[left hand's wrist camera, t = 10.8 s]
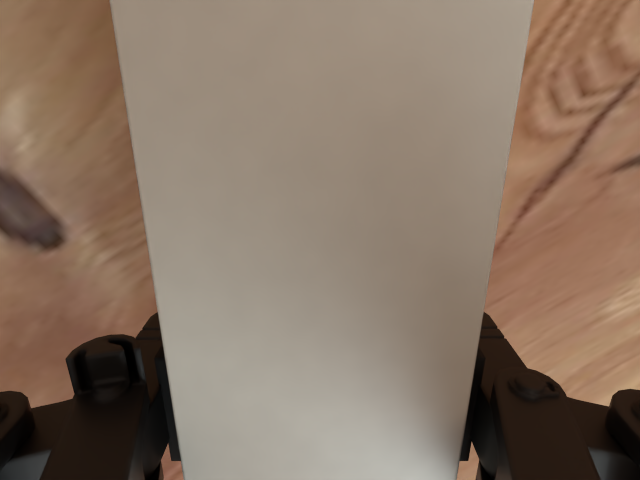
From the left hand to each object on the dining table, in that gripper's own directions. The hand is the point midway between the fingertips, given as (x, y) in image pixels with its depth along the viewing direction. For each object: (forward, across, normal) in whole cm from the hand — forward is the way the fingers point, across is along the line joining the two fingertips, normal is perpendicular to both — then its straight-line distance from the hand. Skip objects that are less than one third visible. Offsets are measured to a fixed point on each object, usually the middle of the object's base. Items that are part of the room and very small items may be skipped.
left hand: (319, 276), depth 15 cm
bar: (+1, 0, -19) cm, 19 cm away
